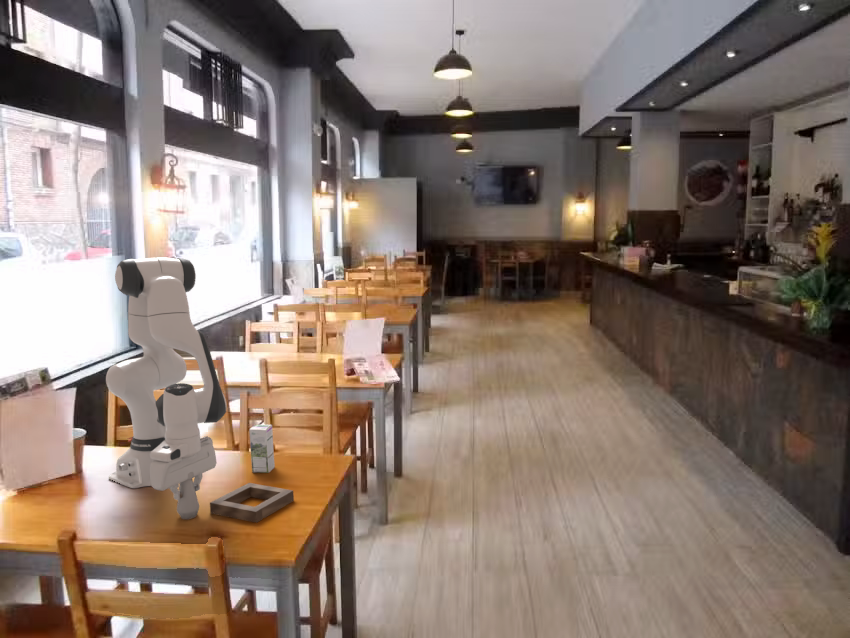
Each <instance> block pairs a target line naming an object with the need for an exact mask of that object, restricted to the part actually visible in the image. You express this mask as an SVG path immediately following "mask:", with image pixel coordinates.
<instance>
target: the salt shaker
mask: <svg viewBox="0 0 850 638" xmlns="http://www.w3.org/2000/svg"><path fill="white" fill-rule="evenodd" d="M193 478H195V477H194V473H193V472H190V473H189V474H188V479H187V480H186V481H184V482H182V483H179V487H178V490H179V492H182V496H183V497H182V498H181V499H179V500H177V506H176V512H177V513H178V515H179V516H180V518H181V520H190V519H194V518H196V517H197V515H198V512H199V510H200V504H199V503H200V502H199V499H198V495H197V491H195V487H194V484H193V482H194V479H193Z"/></svg>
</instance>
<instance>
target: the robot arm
mask: <svg viewBox="0 0 850 638" xmlns="http://www.w3.org/2000/svg"><path fill="white" fill-rule="evenodd" d="M196 277H197V275H196V270H195V266H194V264H193V263H192V262H191V260H189V259H186V258H181V257H177V258H173V257H163V256H162V257H159V256H158V257H157V256H155V257H146V258H137V259H134V258H129V259H124V260H121V261H120V262H119V263H118V264H117V266H116V269H115V273H114V280H115V283H116V287H117V289H118V291H119V292H121V294H123V295H125V296H129V297H128V311H127V312H128V314H127V317H128V320H127V326H128V327H127V329H128V332H127V334H128V337H129V339H130V341H132V342H133V343H134V344H136V345H138V346H141V347H142V353H143V356H140V357H136V358H131V359H126V360H125V359H124V360H123V361H120V362H118V363H116V364H114V365H111V366H110V367H109V368H108V370H107V372H106V375H105V383H106V386H107V389H108V390H109V392H111V394H113V395H114V396H115V397H118V398H120V399H121V401H123V402H124V403H125V404H126V406H127V408H128V410H129V414H130V418H131V423H132V433H133V436H131V437H129V438H127V440H128V441H127V442H128V443H130V447H129V449H127V450H126V451H125V452H124V453H123V454H122V455H121V456H120V457H118V459H117V461H116V464H115V466H116V469H115V470H116V471H114V472H112V473H111V474H110V475H109V476H108V480H109V479H111V480H110V481H112V480H113V482H114V481H115V483H117V482H118V483H117V484H119V483H120V485H122V486H125V487H128V488H130V489H138V488H142V487H152V488H153V489H154V490H155V491H156V490H157V491H163V492H164V491H166V490H167V489H169V490H170V491H171V492H172V494H173V499H174V500H176V501H178V500H179V499H181V498H182V497H183V496H182V492H179V486H180V483H182V482H184V481H186V480H187V479H188V474H189V473H190V472H193V473H194V479H193V484H194V487H195V491H196V492H197V491H200V490H201V486H200V485H201V482H202V479H203V473H206V472H209V471H211V470H213V469H215V468H216V466H217V464H218V463H217V455H216V450H215V447H214V444H213V443H214V442H213V439H212V438H211V437H210V436H208V435H207V436H204V437H201V431H200V428H199V424H203V423H204V424H213V423H217V422H219V421H220V420H221V419H222V418H223V417H224V416H225V414H226V413H227V400H226V397H225V395H224V393H223V390H222V387H221V384H220V382H219V381H220V380H219V379H218V375H217V371H216V368H215V364H214V361H213V358H212V355H211V351H210V347H209V344H208V342H207V339H206V337H205V335H204V333H203V332H202V331H199V330H197V329H196V327H195V326H194V324H193V322H192V320H191V314H190V307H189V301H188V295H187V293H188V292H191V290H193V288H194V287H195V285H196ZM175 350H178V351H182V352H185V353H187V354H189V355H191V356H192V357H193V358H194V359H195V360H196V362H197V366H198V369H199V373H200V376H201V379H202V382H203V386H202V387H201V388H194V386H193V385H191V384H189V383H183V382H182V381H183V380H184V379H185V378H186V375H187V370H188V369H187V363H186V361H185V359H184V357H182V356H181V355H180V354H179V353H177V352H176V351H175ZM181 382H182V383H181ZM161 389H164V390H163V393H162V394H161V395H160V396H159V397H158V398H157V399H156V398H155V394H154V391H157V390H161Z"/></svg>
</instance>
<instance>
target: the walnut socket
mask: <svg viewBox="0 0 850 638" xmlns="http://www.w3.org/2000/svg"><path fill="white" fill-rule="evenodd" d="M249 498H255V499H261V500H263V501H262V502H261V503H259V504H258V505H256V506H254V505H253V506H252V505H248V504H241V503H242V502H244V501H246V500H247V499H249ZM294 501H295V498H294V490H291V489H285V488H281V487H276V486H271V485H265V484H264V485H262V484H259V483H258V484H257V483H252V482H248V483H245V485H242V486H240V487H237V488H236V489H234V490H232V491H229V493H226V494H224V495H222V496H220V497H219V498H216V499H214V500H212V501H210V502H209V510H210V514H212V515H213V514H214V515H218V516H222V517H223V516H224V517H227V518H231V519H232V518H233V519H237V520H242V521H247V522H250V523H255V522H256V523H258V522H260V521H262V520H264V519H265V518H267V517H268V516H271V515H272V514H274V513H276V512H277V511H279V510H280V509H282V508H284V507H286V506H287V505H290V504H291V503H293V502H294ZM263 518H264V519H263Z"/></svg>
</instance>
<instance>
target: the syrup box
mask: <svg viewBox="0 0 850 638" xmlns="http://www.w3.org/2000/svg"><path fill="white" fill-rule="evenodd" d="M273 431H274V430H273V424H253V425H252V426H251V427H250V428H249V444H250V445H249V446H250V461H251V472H252V473H260V474H261V473H263V474H264V473H265V474H266V473H267V474H268V473H271V471H272V470H274V469H275V466H276V465H275V455H274V454H275V453H274V435H273Z"/></svg>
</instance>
